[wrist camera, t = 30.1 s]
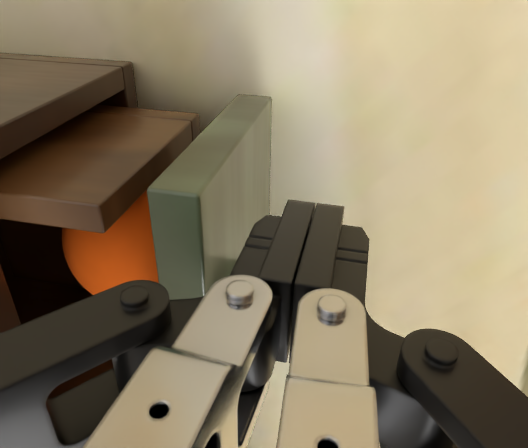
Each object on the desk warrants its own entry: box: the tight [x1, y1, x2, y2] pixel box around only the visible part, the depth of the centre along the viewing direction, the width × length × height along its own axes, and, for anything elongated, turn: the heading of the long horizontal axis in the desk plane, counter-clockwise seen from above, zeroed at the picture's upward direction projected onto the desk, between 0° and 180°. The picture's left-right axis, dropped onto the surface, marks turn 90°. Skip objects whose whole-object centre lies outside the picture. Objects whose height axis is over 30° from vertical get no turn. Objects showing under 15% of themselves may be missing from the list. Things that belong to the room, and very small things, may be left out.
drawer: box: [0, 94, 272, 399], centre depth 17 cm, size 14×10×7 cm
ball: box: [62, 190, 159, 295], centre depth 16 cm, size 5×5×5 cm
